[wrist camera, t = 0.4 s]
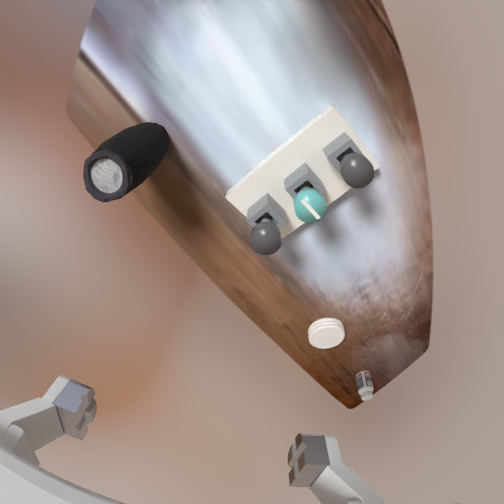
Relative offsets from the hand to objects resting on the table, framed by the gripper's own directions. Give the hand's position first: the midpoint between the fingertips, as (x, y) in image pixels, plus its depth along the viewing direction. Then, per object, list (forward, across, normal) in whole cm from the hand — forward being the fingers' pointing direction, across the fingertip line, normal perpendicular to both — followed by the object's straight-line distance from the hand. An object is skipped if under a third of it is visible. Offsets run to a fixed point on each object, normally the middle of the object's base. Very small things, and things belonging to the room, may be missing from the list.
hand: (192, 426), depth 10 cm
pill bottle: (+71, -51, +49) cm, 100 cm away
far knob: (+45, -4, +1) cm, 46 cm away
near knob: (+41, -15, -13) cm, 46 cm away
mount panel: (+51, -9, -9) cm, 52 cm away
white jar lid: (+64, -29, +30) cm, 76 cm away
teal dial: (+43, -10, -6) cm, 45 cm away
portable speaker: (+50, +20, -9) cm, 55 cm away
